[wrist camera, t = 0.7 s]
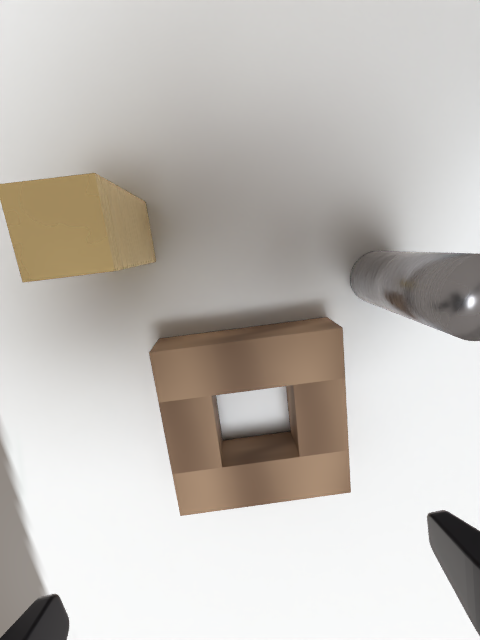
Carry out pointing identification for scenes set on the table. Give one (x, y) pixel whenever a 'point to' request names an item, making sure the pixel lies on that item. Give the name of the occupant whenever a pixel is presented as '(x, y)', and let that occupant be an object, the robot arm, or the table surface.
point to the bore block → (265, 450)
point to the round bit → (424, 288)
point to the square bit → (75, 227)
